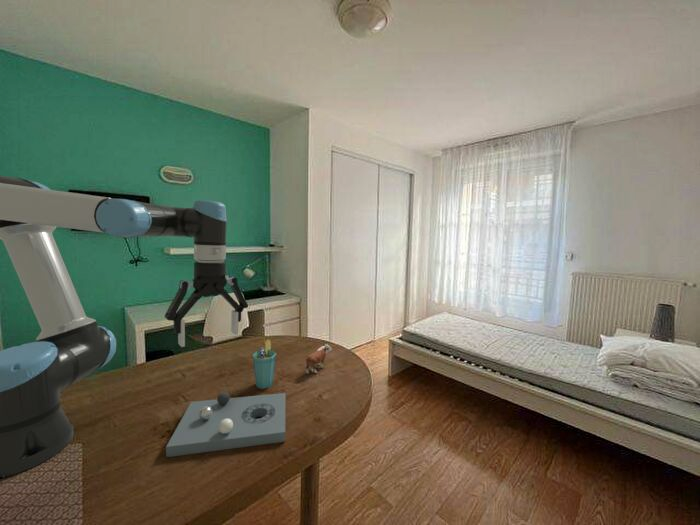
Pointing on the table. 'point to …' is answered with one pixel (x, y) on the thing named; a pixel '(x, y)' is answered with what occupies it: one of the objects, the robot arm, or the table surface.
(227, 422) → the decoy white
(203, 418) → the steel ball
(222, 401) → the matte dark gray ball
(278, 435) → the plate
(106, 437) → the table surface
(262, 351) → the cup
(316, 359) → the bull figurine
